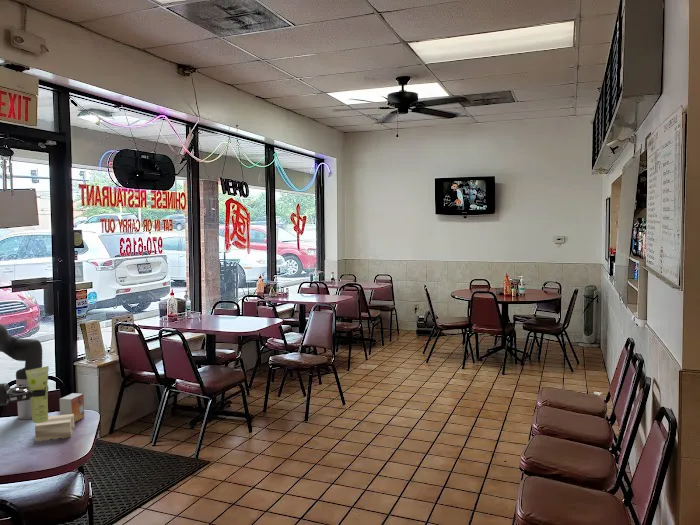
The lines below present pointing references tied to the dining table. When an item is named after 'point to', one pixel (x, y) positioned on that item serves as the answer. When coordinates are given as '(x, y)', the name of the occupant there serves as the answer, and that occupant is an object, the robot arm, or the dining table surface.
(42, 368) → the tube
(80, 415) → the small box
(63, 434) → the birch block
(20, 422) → the dining table surface
